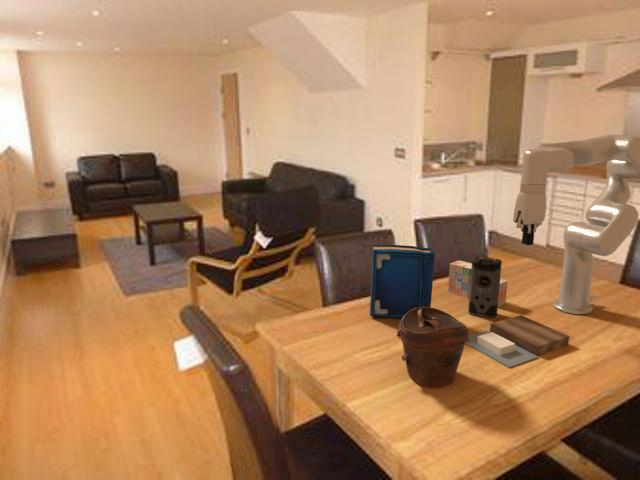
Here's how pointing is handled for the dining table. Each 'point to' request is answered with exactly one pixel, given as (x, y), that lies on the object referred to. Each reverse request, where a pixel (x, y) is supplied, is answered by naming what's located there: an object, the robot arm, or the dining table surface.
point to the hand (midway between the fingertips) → (527, 244)
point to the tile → (496, 343)
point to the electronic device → (484, 286)
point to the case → (432, 345)
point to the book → (400, 279)
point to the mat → (506, 359)
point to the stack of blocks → (462, 279)
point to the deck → (530, 335)
